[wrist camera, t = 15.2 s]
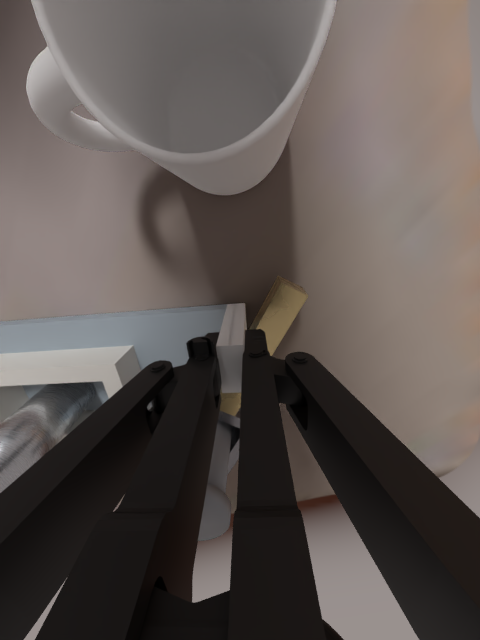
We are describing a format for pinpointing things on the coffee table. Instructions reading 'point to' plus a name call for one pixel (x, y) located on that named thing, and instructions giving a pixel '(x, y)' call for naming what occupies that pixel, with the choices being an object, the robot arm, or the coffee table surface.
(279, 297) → the ring lever
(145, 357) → the plate
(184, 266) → the coffee table surface
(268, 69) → the mug
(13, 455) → the pin
